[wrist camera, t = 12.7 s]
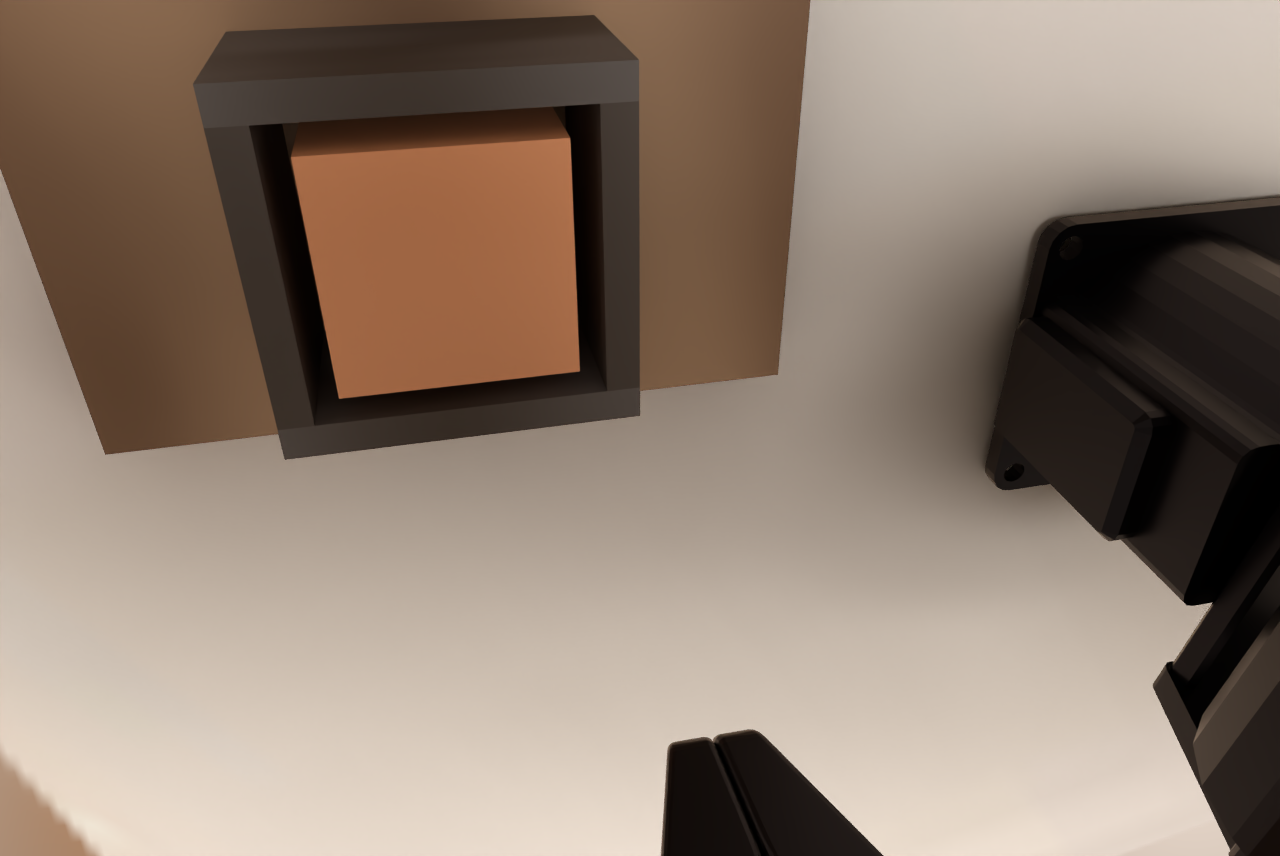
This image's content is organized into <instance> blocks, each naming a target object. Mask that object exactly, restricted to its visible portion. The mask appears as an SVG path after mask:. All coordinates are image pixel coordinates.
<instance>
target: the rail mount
mask: <svg viewBox="0 0 1280 856" xmlns="http://www.w3.org/2000/svg"><path fill="white" fill-rule="evenodd" d="M809 9H810V0H0V168H1V171H2V174H3V177H4V179H5V182H6V185H7V188H8V190H9V193H10V196H11V199H12V201H13V204H14V207H15V209H16V212H17V215H18V218H19V220H20V223H21V226H22V229H23V231H24V234H25V237H26V239H27V242H28V245H29V248H30V250H31V253H32V256H33V259H34V261H35V264H36V267H37V269H38V272H39V275H40V278H41V280H42V283H43V286H44V289H45V291H46V294H47V297H48V299H49V302H50V305H51V308H52V310H53V313H54V316H55V319H56V321H57V324H58V327H59V329H60V332H61V335H62V338H63V340H64V343H65V346H66V349H67V351H68V354H69V357H70V360H71V362H72V365H73V368H74V370H75V373H76V376H77V379H78V381H79V384H80V387H81V390H82V392H83V395H84V398H85V400H86V403H87V406H88V409H89V411H90V414H91V417H92V420H93V422H94V425H95V428H96V430H97V433H98V436H99V439H100V441H101V444H102V447H103V450H104V452H105V455H106V454H114V453H122V452H131V451H139V450H148V449H156V448H164V447H173V446H181V445H190V444H198V443H206V442H215V441H223V440H232V439H240V438H248V437H257V436H265V435H274V434H279V438H280V442H281V446H282V450H283V454H284V459H285V460H286V459H294V458H302V457H310V456H318V455H326V454H334V453H342V452H351V451H359V450H367V449H375V448H383V447H391V446H399V445H407V444H415V443H423V442H431V441H439V440H447V439H455V438H464V437H472V436H480V435H488V434H496V433H504V432H512V431H520V430H528V429H536V428H544V427H552V426H560V425H568V424H576V423H585V422H593V421H601V420H609V419H617V418H625V417H633V416H640V391H643V390H652V389H660V388H668V387H677V386H685V385H694V384H702V383H710V382H719V381H727V380H736V379H744V378H752V377H761V376H769V375H778V366H779V354H780V343H781V331H782V320H783V308H784V297H785V285H786V274H787V262H788V250H789V239H790V227H791V216H792V204H793V193H794V181H795V170H796V158H797V147H798V135H799V124H800V112H801V101H802V89H803V78H804V66H805V55H806V43H807V32H808V20H809ZM538 107H553V109H554V110H555V112H556V114H557V116H558V117H559V119H560V121H561V123H562V124H563V126H564V128H565V130H566V131H567V133H568V135H569V137H570V143H571V167H572V192H573V216H574V241H575V265H576V290H577V314H578V338H579V363H580V371H579V372H570V373H561V374H553V375H544V376H535V377H526V378H517V379H509V380H500V381H491V382H482V383H474V384H465V385H456V386H447V387H438V388H430V389H421V390H412V391H403V392H395V393H386V394H377V395H368V396H359V397H351V398H342V399H339V396H338V391H337V386H336V381H335V376H334V371H333V366H332V361H331V356H330V351H329V346H328V341H327V336H326V331H325V326H324V321H323V316H322V311H321V306H320V301H319V296H318V291H317V286H316V281H315V276H314V271H313V266H312V261H311V256H310V251H309V246H308V241H307V236H306V231H305V226H304V221H303V216H302V211H301V206H300V201H299V196H298V190H297V185H296V180H295V175H294V170H293V165H292V160H291V154H292V150H293V146H294V141H295V137H296V133H297V128H298V124H299V122H313V121H329V120H345V119H361V118H378V117H394V116H410V115H426V114H442V113H458V112H474V111H490V110H506V109H522V108H538Z"/></svg>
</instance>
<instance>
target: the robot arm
mask: <svg viewBox="0 0 1280 856" xmlns="http://www.w3.org/2000/svg"><path fill="white" fill-rule="evenodd" d="M1070 237H1071V241H1070V243H1069V245H1068V247H1066V248H1065V249H1064V250H1063V251H1060V248H1061V246H1062V244H1063V243H1064V242H1065V241H1066V240H1067V239H1068V238H1070ZM994 425H995V427H994V431H993V436H992V440H991V444H990V449H989V453H988V457H987V461H986V466H985V472H986V474H987V476H988V477H989V478H990V480H991V481H992V482H993V483H994V484H995V485H996V486H997V487H998V488H1000V489H1002V490H1013V489H1020V488H1026V487H1033V486H1040V485H1046V484H1051V485H1052V486H1053V487H1054V488H1055V489H1056V490H1057V491H1058V492H1059V493H1060V494H1061V495H1062V496H1063V497H1064V498H1065V499H1066V500H1067V501H1068V502H1069V503H1070V504H1071V505H1072V506H1073V507H1074V508H1075V509H1076V510H1077V511H1078V512H1079V513H1080V514H1081V515H1082V516H1083V517H1084V518H1085V519H1086V520H1087V521H1088V522H1089V524H1090V525H1091V526H1092V527H1093V528H1094V529H1095V530H1096V531H1097V532H1098V533H1099V534H1100V535H1101V536H1102V537H1103V538H1105V539H1106V540H1108V541H1113V540H1119V539H1121V540H1122V541H1123V542H1124V543H1125V544H1126V545H1127V546H1128V547H1129V548H1130V549H1131V550H1132V551H1133V552H1134V553H1135V554H1136V555H1137V556H1138V557H1139V558H1140V559H1141V560H1142V561H1143V562H1144V563H1145V564H1146V565H1147V566H1148V567H1149V568H1150V569H1151V570H1152V571H1153V572H1154V573H1155V574H1156V575H1157V576H1158V577H1159V578H1160V579H1161V580H1162V581H1163V582H1164V583H1165V584H1166V585H1167V586H1168V587H1169V588H1170V589H1171V590H1172V591H1173V592H1174V593H1175V594H1176V595H1177V596H1178V597H1179V598H1180V599H1181V600H1182V601H1183V602H1184V603H1185V604H1186V605H1190V606H1195V605H1200V604H1206V603H1211V602H1213V603H1212V605H1211V606H1210V608H1209V609H1208V611H1207V612H1206V614H1205V615H1204V617H1203V618H1202V620H1201V621H1200V623H1199V624H1198V626H1197V627H1196V629H1195V630H1194V632H1193V633H1192V635H1191V637H1190V638H1189V640H1188V641H1187V643H1186V644H1185V646H1184V647H1183V649H1182V650H1181V652H1180V653H1179V655H1178V656H1177V658H1176V659H1175V661H1174V662H1167V664H1166V665H1165V667H1164V668H1163V670H1162V671H1161V673H1160V674H1159V676H1158V677H1157V679H1156V680H1155V682H1154V683H1153V688H1154V690H1155V693H1156V695H1157V697H1158V699H1159V701H1160V703H1161V705H1162V707H1163V709H1164V711H1165V714H1166V716H1167V718H1168V720H1169V722H1170V724H1171V726H1172V728H1173V730H1174V732H1175V735H1176V737H1177V739H1178V741H1179V743H1180V745H1181V747H1182V749H1183V751H1184V754H1185V756H1186V758H1187V760H1188V762H1189V764H1190V766H1191V768H1192V770H1193V772H1194V775H1195V777H1196V779H1197V781H1198V783H1199V785H1200V787H1201V789H1202V791H1203V793H1204V796H1205V798H1206V800H1207V802H1208V804H1209V806H1210V808H1211V810H1212V812H1213V815H1214V817H1215V819H1216V821H1217V823H1218V825H1219V827H1220V829H1221V831H1222V833H1223V836H1224V837H1225V840H1226V842H1227V844H1228V846H1229V848H1230V852H1229V856H1280V197H1277V198H1267V199H1256V200H1245V201H1234V202H1224V203H1213V204H1202V205H1191V206H1180V207H1170V208H1159V209H1148V210H1137V211H1127V212H1116V213H1105V214H1094V215H1083V216H1073V217H1065V218H1061V219H1058V220H1056V221H1054V222H1053V223H1051V224H1050V225H1048V227H1047V228H1046V229H1045V230H1044V231H1043V233H1042V234H1041V236H1040V239H1039V241H1038V244H1037V248H1036V253H1035V257H1034V261H1033V265H1032V270H1031V274H1030V278H1029V282H1028V287H1027V291H1026V295H1025V299H1024V304H1023V308H1022V312H1021V317H1020V321H1019V325H1018V328H1017V330H1016V332H1015V336H1014V341H1013V345H1012V349H1011V354H1010V358H1009V362H1008V366H1007V371H1006V375H1005V379H1004V383H1003V388H1002V392H1001V396H1000V401H999V405H998V409H997V413H996V418H995V422H994ZM1011 465H1013V466H1012V467H1011V468H1010V469H1008V470H1006V469H1007V468H1008V467H1010V466H1011ZM661 856H883V855H882V854H881V853H880V852H879V851H878V850H877V849H876V848H875V847H874V846H873V845H872V844H871V843H870V842H869V841H868V840H867V839H866V838H865V837H864V836H863V835H862V834H861V833H860V832H859V831H858V830H857V829H856V828H855V827H854V826H853V825H852V824H851V823H850V822H849V821H848V820H847V819H846V818H845V817H844V816H843V815H842V814H841V813H840V812H839V811H838V810H837V809H836V808H835V807H834V806H833V805H832V804H831V803H830V802H829V801H828V800H827V799H826V798H825V797H824V796H823V795H822V794H821V793H820V792H819V791H818V790H817V789H816V788H815V787H814V786H813V785H812V784H811V783H810V782H809V781H808V780H807V779H806V778H805V777H804V776H803V775H802V774H801V773H800V772H799V771H798V770H797V769H796V768H795V767H794V766H793V765H792V764H791V762H790V761H789V760H788V759H787V758H786V757H785V756H784V755H783V754H782V753H781V752H780V751H779V750H778V749H777V748H776V747H775V746H774V745H773V744H772V743H771V742H770V741H769V740H768V739H767V738H766V737H765V736H763V735H762V734H761V733H760V732H758V731H755V730H743V731H737V732H731V733H725V734H720V735H717V736H716V737H715V738H714V739H713V741H712V740H711V739H710V738H707V737H701V738H695V739H689V740H683V741H677V742H673V743H671V744H670V745H669V747H668V751H667V766H666V782H665V798H664V814H663V830H662V846H661Z"/></svg>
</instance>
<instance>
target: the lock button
mask: <svg viewBox="0 0 1280 856" xmlns="http://www.w3.org/2000/svg"><path fill="white" fill-rule="evenodd" d="M291 160H292V165H293V170H294V175H295V180H296V185H297V190H298V196H299V201H300V206H301V211H302V216H303V221H304V226H305V231H306V236H307V241H308V246H309V251H310V256H311V261H312V266H313V271H314V276H315V281H316V286H317V291H318V296H319V301H320V306H321V311H322V316H323V321H324V326H325V331H326V336H327V341H328V346H329V351H330V356H331V361H332V366H333V371H334V376H335V381H336V386H337V391H338V396H339V399H342V398H351V397H359V396H368V395H377V394H386V393H395V392H403V391H412V390H421V389H430V388H438V387H447V386H456V385H465V384H474V383H482V382H491V381H500V380H509V379H517V378H526V377H535V376H544V375H553V374H561V373H570V372H579V371H580V363H579V338H578V314H577V290H576V265H575V241H574V216H573V192H572V167H571V143H570V137H569V135H568V133H567V131H566V130H565V128H564V126H563V124H562V123H561V121H560V119H559V117H558V116H557V114H556V112H555V110H554V109H553V107H538V108H522V109H506V110H490V111H474V112H458V113H442V114H426V115H410V116H394V117H378V118H361V119H345V120H329V121H313V122H299V124H298V128H297V133H296V137H295V141H294V146H293V150H292V154H291Z"/></svg>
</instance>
